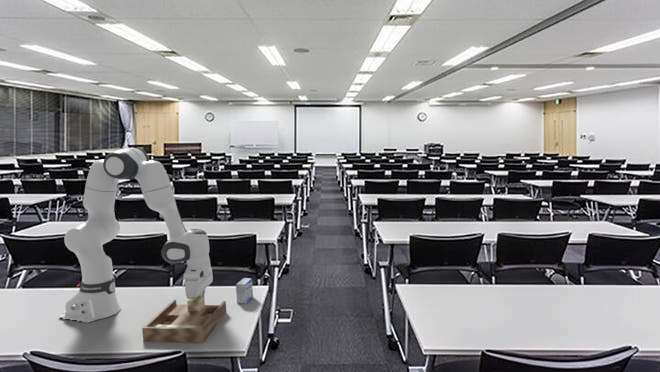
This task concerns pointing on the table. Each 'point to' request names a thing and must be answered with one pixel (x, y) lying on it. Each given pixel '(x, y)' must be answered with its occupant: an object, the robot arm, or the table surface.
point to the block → (196, 304)
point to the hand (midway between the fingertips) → (201, 300)
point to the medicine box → (244, 290)
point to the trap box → (183, 323)
